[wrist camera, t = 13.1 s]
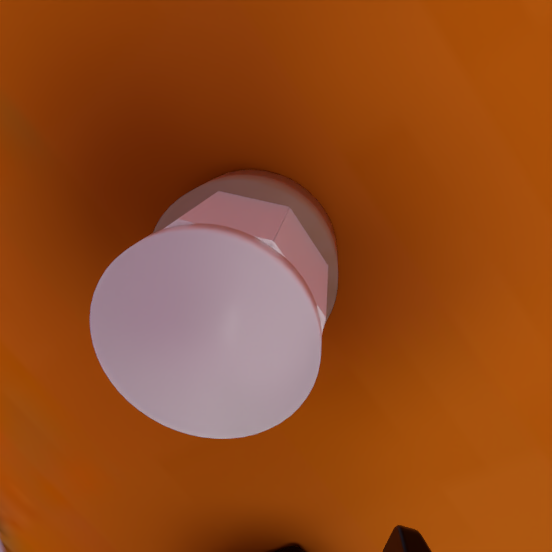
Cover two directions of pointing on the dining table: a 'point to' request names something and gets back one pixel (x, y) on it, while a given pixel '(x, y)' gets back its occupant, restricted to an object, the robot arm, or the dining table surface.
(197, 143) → the dining table surface
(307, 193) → the spice pot
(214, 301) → the cap
